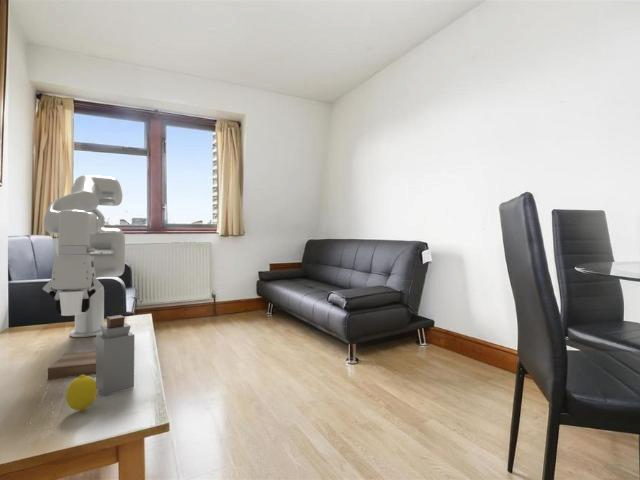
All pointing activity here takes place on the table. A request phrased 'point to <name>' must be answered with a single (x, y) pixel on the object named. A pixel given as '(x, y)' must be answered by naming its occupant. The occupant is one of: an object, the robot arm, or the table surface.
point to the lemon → (81, 393)
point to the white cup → (71, 302)
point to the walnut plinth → (73, 365)
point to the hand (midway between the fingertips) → (73, 311)
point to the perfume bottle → (114, 357)
